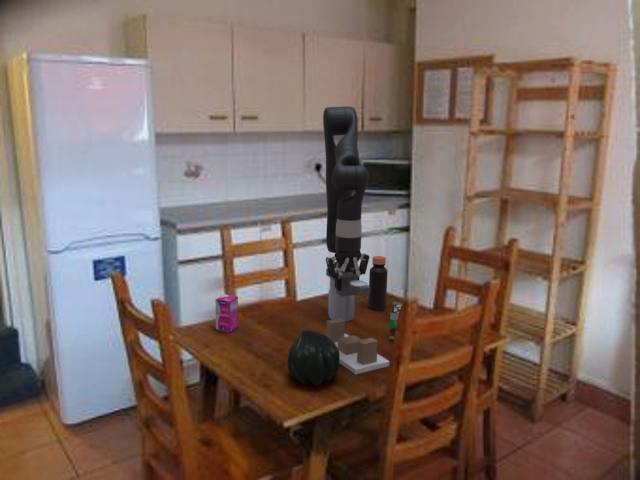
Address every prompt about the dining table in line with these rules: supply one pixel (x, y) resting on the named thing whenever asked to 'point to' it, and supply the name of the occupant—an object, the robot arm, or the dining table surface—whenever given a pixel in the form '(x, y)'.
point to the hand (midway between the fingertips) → (346, 289)
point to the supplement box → (226, 313)
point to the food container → (394, 319)
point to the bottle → (378, 284)
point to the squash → (313, 358)
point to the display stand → (355, 349)
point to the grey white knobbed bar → (351, 285)
